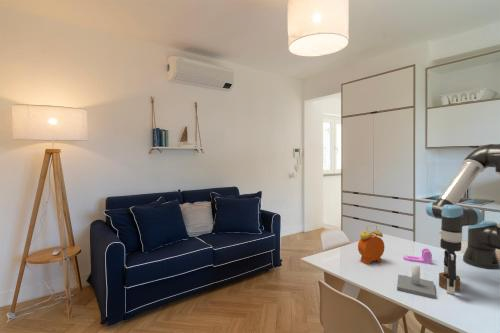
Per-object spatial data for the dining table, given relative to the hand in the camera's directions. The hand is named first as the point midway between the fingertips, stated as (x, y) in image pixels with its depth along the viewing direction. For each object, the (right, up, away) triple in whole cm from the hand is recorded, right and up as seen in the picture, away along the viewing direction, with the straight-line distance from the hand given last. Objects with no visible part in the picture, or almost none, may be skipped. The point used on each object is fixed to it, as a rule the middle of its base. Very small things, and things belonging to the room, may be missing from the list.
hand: (448, 286), depth 123 cm
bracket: (+4, +1, +30) cm, 30 cm away
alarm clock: (-22, +1, +29) cm, 37 cm away
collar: (0, 0, 0) cm, 0 cm away
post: (-15, 0, 0) cm, 15 cm away
